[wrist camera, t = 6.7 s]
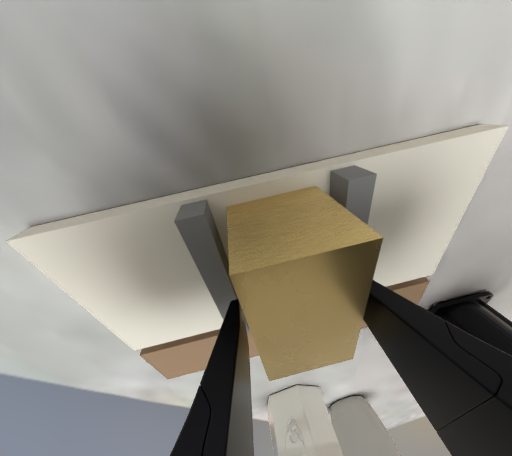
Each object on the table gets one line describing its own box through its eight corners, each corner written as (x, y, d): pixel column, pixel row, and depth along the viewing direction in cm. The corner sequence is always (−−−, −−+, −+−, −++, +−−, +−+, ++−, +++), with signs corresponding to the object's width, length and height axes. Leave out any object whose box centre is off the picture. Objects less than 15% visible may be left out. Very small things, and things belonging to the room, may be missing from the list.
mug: (314, 409, 34) (344, 504, 26) (354, 389, 32) (402, 488, 23) (348, 413, 40) (381, 492, 32) (384, 396, 38) (430, 478, 29)
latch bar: (316, 289, 13) (353, 358, 10) (256, 304, 13) (269, 381, 9) (316, 185, 9) (383, 237, 5) (226, 206, 9) (229, 275, 5)
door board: (479, 124, 10) (682, 132, 6) (402, 304, 19) (456, 362, 14) (29, 227, 9) (-148, 331, 5) (170, 364, 18) (154, 444, 14)
